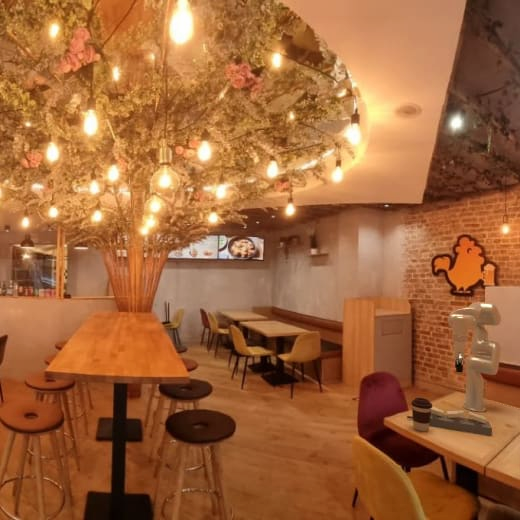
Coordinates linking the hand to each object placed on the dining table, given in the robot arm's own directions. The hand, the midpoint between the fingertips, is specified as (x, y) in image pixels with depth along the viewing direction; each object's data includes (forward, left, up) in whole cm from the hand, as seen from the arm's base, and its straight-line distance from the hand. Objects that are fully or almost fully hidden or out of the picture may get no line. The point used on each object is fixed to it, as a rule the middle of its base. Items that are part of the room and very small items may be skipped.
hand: (458, 370), depth 224 cm
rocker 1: (+7, -11, -22) cm, 26 cm away
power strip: (+9, -5, -28) cm, 30 cm away
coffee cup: (+21, -18, -28) cm, 40 cm away
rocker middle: (+7, -1, -22) cm, 23 cm away
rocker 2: (+7, +9, -22) cm, 25 cm away
